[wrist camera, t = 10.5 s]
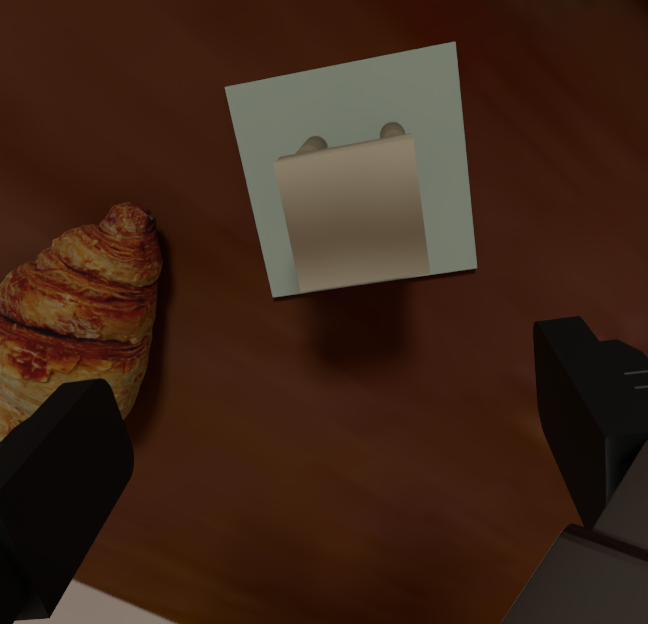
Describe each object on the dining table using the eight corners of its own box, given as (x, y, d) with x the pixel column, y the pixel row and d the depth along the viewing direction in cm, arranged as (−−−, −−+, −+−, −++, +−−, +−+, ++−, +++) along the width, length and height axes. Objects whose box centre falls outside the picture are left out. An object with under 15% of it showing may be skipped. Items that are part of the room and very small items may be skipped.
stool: (299, 136, 30) (273, 163, 23) (404, 117, 30) (413, 138, 22) (318, 237, 32) (300, 292, 25) (418, 222, 31) (430, 273, 24)
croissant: (73, 449, 44) (74, 549, 38) (-91, 424, 38) (-119, 536, 32) (213, 207, 36) (242, 285, 30) (31, 130, 30) (22, 209, 24)
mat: (226, 86, 30) (224, 87, 30) (454, 41, 28) (455, 41, 28) (273, 294, 34) (272, 297, 34) (476, 265, 33) (477, 268, 32)
